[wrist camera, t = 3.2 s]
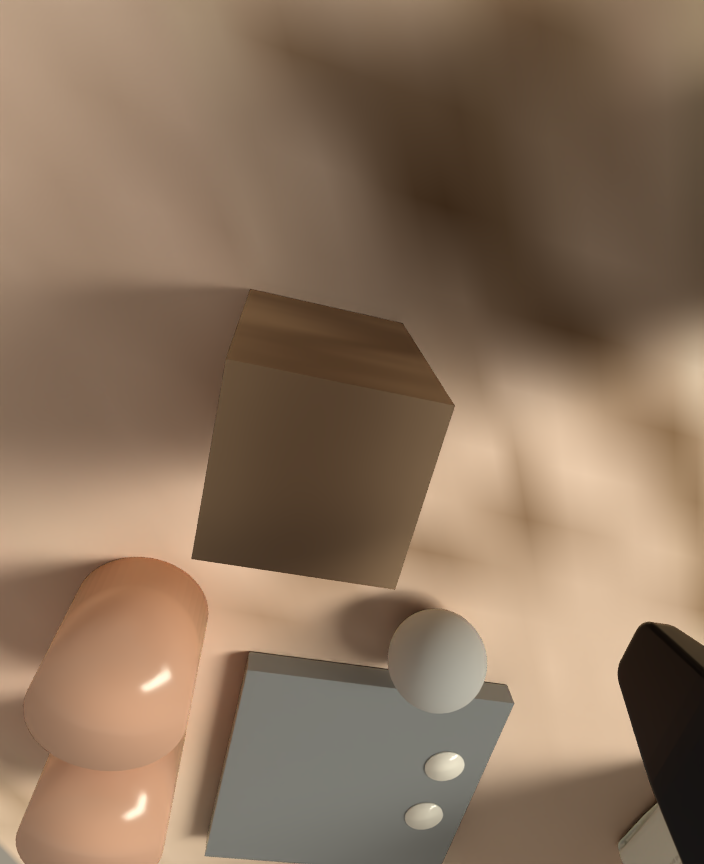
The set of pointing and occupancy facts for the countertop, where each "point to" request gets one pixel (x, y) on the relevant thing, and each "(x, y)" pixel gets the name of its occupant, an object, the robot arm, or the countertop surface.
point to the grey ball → (437, 661)
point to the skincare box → (649, 841)
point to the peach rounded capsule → (120, 667)
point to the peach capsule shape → (99, 813)
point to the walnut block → (320, 444)
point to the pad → (346, 767)
